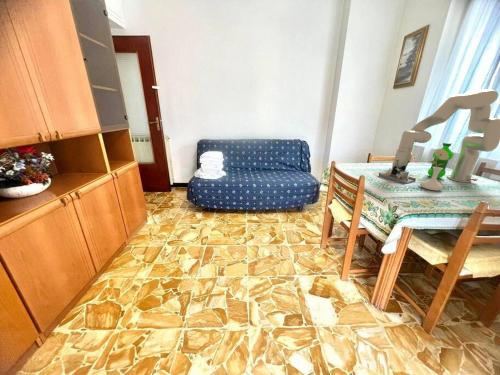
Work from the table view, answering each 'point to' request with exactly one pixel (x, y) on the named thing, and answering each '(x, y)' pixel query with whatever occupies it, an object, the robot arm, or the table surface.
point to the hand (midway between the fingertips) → (397, 173)
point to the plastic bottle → (441, 161)
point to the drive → (401, 173)
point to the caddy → (407, 180)
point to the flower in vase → (435, 172)
